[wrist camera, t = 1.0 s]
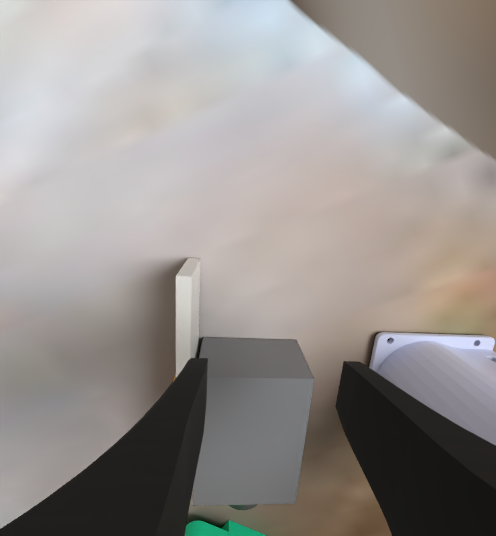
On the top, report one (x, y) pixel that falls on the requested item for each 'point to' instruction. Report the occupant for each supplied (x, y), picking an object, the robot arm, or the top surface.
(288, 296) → the top surface
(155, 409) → the robot arm
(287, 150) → the top surface
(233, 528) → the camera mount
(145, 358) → the top surface
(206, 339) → the block
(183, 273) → the door
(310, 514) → the top surface
